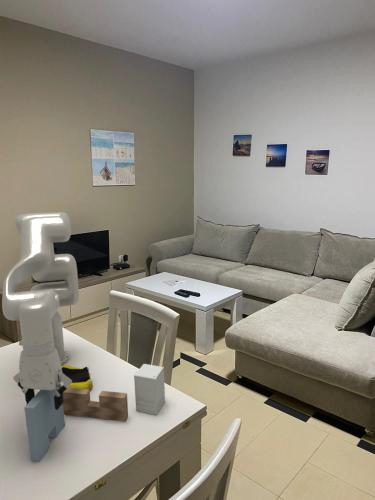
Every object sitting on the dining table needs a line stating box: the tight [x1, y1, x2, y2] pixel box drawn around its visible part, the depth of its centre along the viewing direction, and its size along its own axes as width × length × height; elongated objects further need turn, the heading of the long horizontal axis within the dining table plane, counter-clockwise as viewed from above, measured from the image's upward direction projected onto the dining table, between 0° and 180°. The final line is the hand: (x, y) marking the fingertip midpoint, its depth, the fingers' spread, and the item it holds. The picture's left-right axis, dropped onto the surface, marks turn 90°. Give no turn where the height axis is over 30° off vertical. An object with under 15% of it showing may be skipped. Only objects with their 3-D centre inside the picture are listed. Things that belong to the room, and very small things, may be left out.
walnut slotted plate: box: [63, 387, 129, 422], centre depth 116 cm, size 20×2×8 cm, turn 81°
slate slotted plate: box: [24, 381, 66, 462], centre depth 104 cm, size 14×2×16 cm, turn 171°
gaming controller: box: [61, 364, 94, 390], centre depth 132 cm, size 15×6×10 cm
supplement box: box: [133, 363, 166, 416], centre depth 120 cm, size 7×7×13 cm
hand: (44, 404), depth 104 cm, fingers open, 7 cm apart
